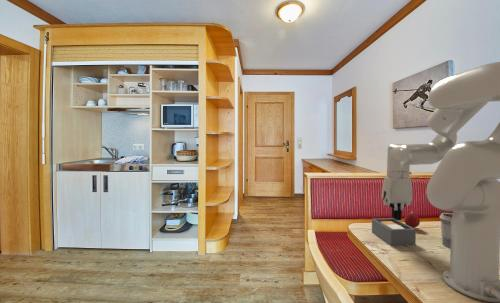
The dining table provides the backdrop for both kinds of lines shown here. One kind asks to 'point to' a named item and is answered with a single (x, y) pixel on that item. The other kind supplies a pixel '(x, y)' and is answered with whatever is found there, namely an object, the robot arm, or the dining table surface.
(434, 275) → the dining table surface
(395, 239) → the switch box
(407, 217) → the onion
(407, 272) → the dining table surface
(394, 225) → the rocker
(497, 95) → the robot arm
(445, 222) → the cup
